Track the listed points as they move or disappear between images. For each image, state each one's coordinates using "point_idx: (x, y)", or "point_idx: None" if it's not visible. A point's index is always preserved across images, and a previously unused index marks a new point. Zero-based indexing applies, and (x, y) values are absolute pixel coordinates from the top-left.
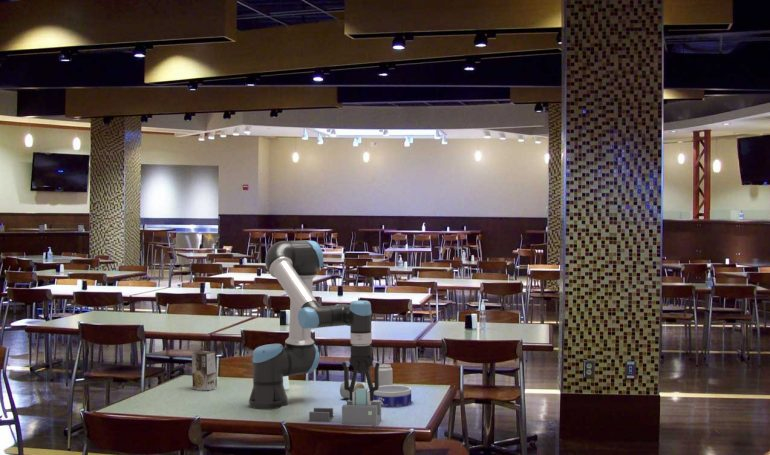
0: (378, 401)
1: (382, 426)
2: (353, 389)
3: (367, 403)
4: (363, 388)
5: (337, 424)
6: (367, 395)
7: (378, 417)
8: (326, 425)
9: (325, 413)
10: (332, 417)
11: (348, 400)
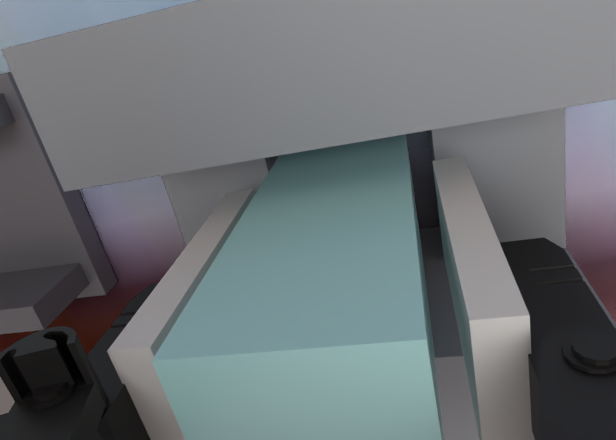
0: (608, 56)
1: (605, 241)
2: (110, 421)
3: (411, 188)
4: (309, 348)
5: (169, 260)
6: (416, 240)
7: (561, 169)
8: (109, 305)
9: (21, 327)
10: (27, 140)
11: (48, 124)
